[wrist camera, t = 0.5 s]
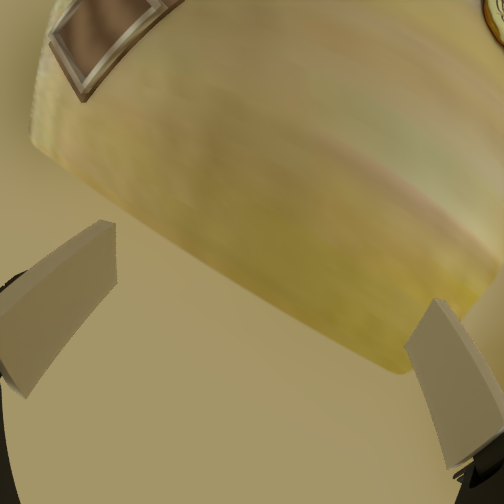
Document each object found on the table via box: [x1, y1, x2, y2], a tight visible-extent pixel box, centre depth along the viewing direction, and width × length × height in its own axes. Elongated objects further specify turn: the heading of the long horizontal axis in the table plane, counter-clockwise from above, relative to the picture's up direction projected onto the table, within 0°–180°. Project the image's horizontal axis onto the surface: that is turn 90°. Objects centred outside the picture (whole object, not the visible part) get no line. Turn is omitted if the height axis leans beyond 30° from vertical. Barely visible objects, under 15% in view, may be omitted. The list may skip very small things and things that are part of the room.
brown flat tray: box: [48, 0, 184, 103], centre depth 22 cm, size 20×16×2 cm
